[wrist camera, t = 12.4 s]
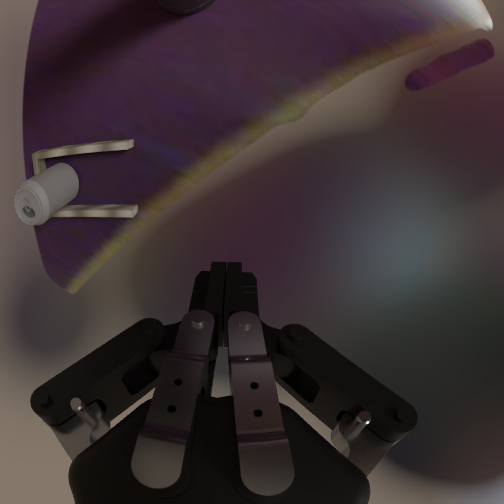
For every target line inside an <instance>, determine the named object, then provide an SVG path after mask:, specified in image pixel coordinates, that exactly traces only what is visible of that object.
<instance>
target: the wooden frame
mask: <svg viewBox="0 0 504 504" xmlns="http://www.w3.org/2000/svg"><path fill="white" fill-rule="evenodd" d="M132 147H134V141H133V139H128V140H115V141H104V142H94V143H86V144H78V145H70V146H63V147H57V148H51V149H45V150H40V151H37V152H35V153H33V154H32V159H33V167H34V174H35V175H37V174H38V173H40V172H42V171H44V170H46V162H45V158H50V157H57V156H64V155H72V154H81V153H90V152H101V151H113V150H128V149H130V148H132ZM137 212H138V205H65V206H64V207H63V208H61V209H60V210H59V211H58V212H56V213H55V214H54V215H53V216H52V217H134V216H135V215H136V213H137Z"/></svg>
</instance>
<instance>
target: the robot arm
mask: <svg viewBox="0 0 504 504" xmlns="http://www.w3.org/2000/svg"><path fill="white" fill-rule="evenodd" d="M156 1H157V2H158V3H159V4H160V5H161V6H162V7H163V8H164V9H165V10H167V11H169V12H171V13H174V14H179V15H187V14H193V13H197V12H199V11H202V10H203V9H205V8H207V7H208V6H210V5H211V4H212V3H213V2H214V1H215V0H156ZM257 295H258V294H257V279H256V278H255V276H254V275H253V273H249V272H242V263H241V262H227V273H226V262H212V264H211V270H210V271H201V272H200V273H199V274H198V275H197V276H196V278H195V283H194V287H193V293H192V297H191V302H190V306H189V311H188V313H186V314H185V315H184V317H183V318H182V321H180V322H178V323H175V324H170V325H165V326H163V324H162V323H161V322H160V321H159V320H157V319H154V318H146V319H142V320H140V321H138V322H137V323H135V324H134V325H132V326H131V327H129V328H128V329H126V330H125V331H123V332H122V333H120V334H119V335H117V336H115V337H114V338H112V339H111V340H109V341H108V342H106V343H105V344H103V345H102V346H100V347H99V348H97V349H96V350H94V351H93V352H91V353H90V354H88V355H87V356H85V357H83V358H82V359H80V360H79V361H78V362H76V363H74V364H73V365H71V366H70V367H68V368H67V369H65V370H64V371H62V372H61V373H60V374H58V375H56V376H55V377H53V378H52V379H50V380H49V381H47V382H46V383H44V384H43V385H41V386H40V387H38V388H37V389H36V390H35V391H34V392H33V394H32V396H31V400H30V402H31V407H32V409H33V411H34V412H35V413H36V414H37V415H38V416H39V417H40V418H42V419H43V421H44V422H45V423H46V424H47V425H48V426H49V427H50V428H51V429H52V430H53V432H54V433H55V435H56V437H57V438H58V440H59V442H60V443H61V445H62V446H63V448H64V449H65V451H66V452H67V454H68V455H69V457H70V458H71V459H72V463H71V465H70V468H69V474H68V475H69V476H68V477H69V484H70V488H71V491H72V494H73V497H74V500H75V504H368V502H369V498H370V485H369V481H368V479H367V476H368V475H369V473H370V472H371V471H372V470H373V469H374V468H375V467H376V465H377V464H378V463H379V462H380V461H381V459H382V458H383V457H384V456H385V454H386V453H387V452H388V450H389V449H390V448H391V446H393V445H394V444H395V443H397V442H398V441H399V440H400V439H401V438H403V437H404V436H405V435H406V434H408V433H409V432H410V431H411V430H412V429H413V428H414V427H415V426H416V424H417V420H418V416H417V412H416V410H415V408H414V407H413V406H412V405H410V404H409V403H408V402H407V401H405V400H404V399H402V398H401V397H399V396H398V395H396V394H395V393H394V392H392V391H391V390H389V389H388V388H387V387H385V386H384V385H383V384H381V383H380V382H379V381H377V380H376V379H374V378H373V377H372V376H370V375H369V374H368V373H366V372H365V371H363V370H362V369H361V368H359V367H358V366H357V365H355V364H354V363H353V362H351V361H350V360H348V359H347V358H346V357H344V356H343V355H342V354H340V353H339V352H338V351H336V350H335V349H334V348H332V347H331V346H330V345H328V344H327V343H326V342H324V341H323V340H322V339H320V338H319V337H318V336H317V335H315V334H314V333H313V332H311V331H310V330H309V329H307V328H306V327H304V326H302V325H298V324H289V325H286V326H284V327H283V328H282V329H281V330H280V329H276V328H273V327H270V326H268V325H266V324H265V323H263V322H262V320H261V319H260V317H259V309H258V296H257ZM223 338H224V346H225V347H228V367H229V382H230V396H225V397H219V398H215V397H211V393H212V386H213V380H214V373H215V368H216V361H217V354H218V347H220V346H221V347H222V346H223ZM275 381H276V382H277V383H278V384H279V385H281V386H282V387H283V388H284V389H285V390H286V391H288V393H289V394H291V395H292V396H293V397H294V398H295V399H296V400H297V401H298V402H300V403H301V404H302V405H303V406H304V407H305V408H306V409H308V410H309V411H310V412H311V413H312V414H313V415H315V416H316V417H317V418H318V419H319V420H321V421H322V422H323V423H324V424H326V425H327V426H328V427H329V428H330V429H332V432H331V441H332V443H333V444H334V446H335V447H336V448H337V449H338V450H337V449H336V448H334V447H333V446H332V445H331V444H330V443H329V442H328V441H326V439H324V438H323V437H322V436H321V435H320V434H319V433H318V432H317V431H316V430H314V429H313V428H312V427H311V426H310V425H309V424H308V423H307V422H306V421H305V420H304V419H303V418H302V417H300V416H299V415H298V414H297V413H296V412H295V411H294V410H292V409H291V408H290V407H288V406H286V405H284V404H282V403H280V402H279V400H278V394H277V389H276V384H275ZM153 388H155V391H154V394H153V397H152V399H149V400H147V401H146V402H144V403H142V404H141V405H140V406H138V407H137V408H136V409H135V410H134V411H132V412H131V413H130V414H129V415H127V416H126V417H125V418H124V419H123V420H121V421H120V422H119V423H118V424H116V425H115V426H114V427H113V428H111V429H110V421H111V420H113V419H114V418H115V417H117V416H118V415H119V414H121V413H122V412H123V411H125V410H126V409H127V408H129V407H130V406H131V405H133V404H134V403H135V402H137V401H138V400H139V399H141V398H142V397H143V396H144V395H146V394H147V393H148V392H150V391H151V390H152V389H153Z"/></svg>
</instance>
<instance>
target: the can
mask: <svg viewBox="0 0 504 504" xmlns="http://www.w3.org/2000/svg"><path fill="white" fill-rule="evenodd" d="M78 188H79V181H78V177H77V174H76V173H75V171H74V169H73V168H72V167H71V166H69V165H68V164H65V163H58V164H56V165H53V166H52V167H50V168H48V169H46V170H44V171H42V172H40V173H38V174H37V175H35V176H33V177H31V178H30V179H28V180H26V181H24V182H23V183H22V184H21V185H20V187H19V190H18V191H17V192H16V195H15V198H14V199H15V200H14V205H15V210H16V213H17V215H18V216H19V218H20V219H21V220H22V221H23V222H24V223H25V224H27V225H30V226H34V225H41V224H43V223H44V222H46V221H47V220H48V219H49V218H50V217H52V216H53V215H54V214H55V213H56V212H58V211H59V210H60V209H61V208H63V207H64V206H65V205H66V204H68V203H69V202H70V201H71V200H73V199H74V198H75V197H76V195H77V193H78Z"/></svg>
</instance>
